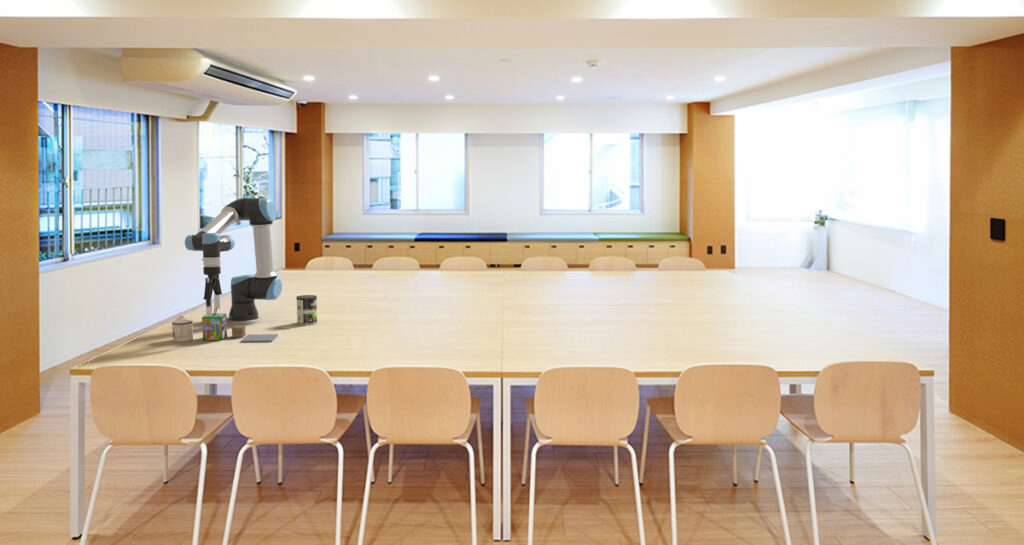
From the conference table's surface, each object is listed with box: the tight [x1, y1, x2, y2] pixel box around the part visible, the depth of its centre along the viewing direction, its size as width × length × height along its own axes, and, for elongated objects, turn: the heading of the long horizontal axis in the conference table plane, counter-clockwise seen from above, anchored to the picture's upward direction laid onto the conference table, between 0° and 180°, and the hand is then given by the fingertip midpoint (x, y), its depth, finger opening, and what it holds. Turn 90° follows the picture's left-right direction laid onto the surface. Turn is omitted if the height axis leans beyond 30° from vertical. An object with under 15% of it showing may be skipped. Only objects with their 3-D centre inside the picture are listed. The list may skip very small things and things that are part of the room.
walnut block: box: [231, 325, 247, 338], centre depth 375 cm, size 5×5×5 cm
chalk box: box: [201, 308, 228, 341], centre depth 370 cm, size 9×9×15 cm
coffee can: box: [295, 294, 318, 326], centre depth 409 cm, size 10×10×14 cm
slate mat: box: [240, 333, 279, 343], centre depth 371 cm, size 14×14×1 cm
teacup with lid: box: [171, 314, 194, 343], centre depth 365 cm, size 12×9×12 cm
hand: (213, 311), depth 368 cm, fingers open, 13 cm apart
